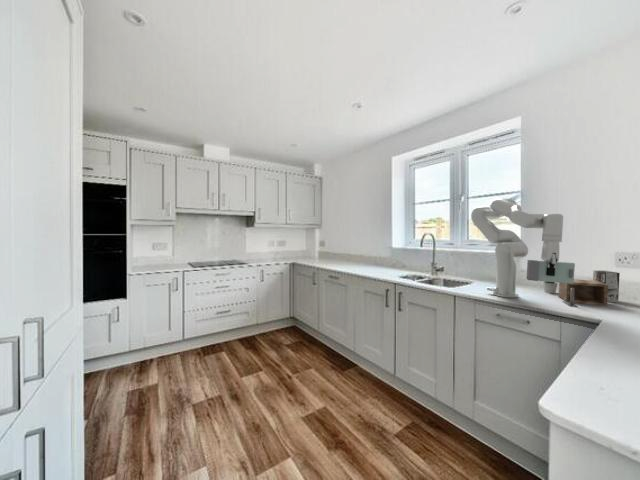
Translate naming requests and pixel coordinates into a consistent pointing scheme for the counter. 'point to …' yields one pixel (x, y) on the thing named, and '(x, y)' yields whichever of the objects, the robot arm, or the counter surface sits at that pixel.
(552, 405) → the counter surface
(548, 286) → the house plant
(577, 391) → the counter surface
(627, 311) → the counter surface
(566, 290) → the cabinet
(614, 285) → the coffee box
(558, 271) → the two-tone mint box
